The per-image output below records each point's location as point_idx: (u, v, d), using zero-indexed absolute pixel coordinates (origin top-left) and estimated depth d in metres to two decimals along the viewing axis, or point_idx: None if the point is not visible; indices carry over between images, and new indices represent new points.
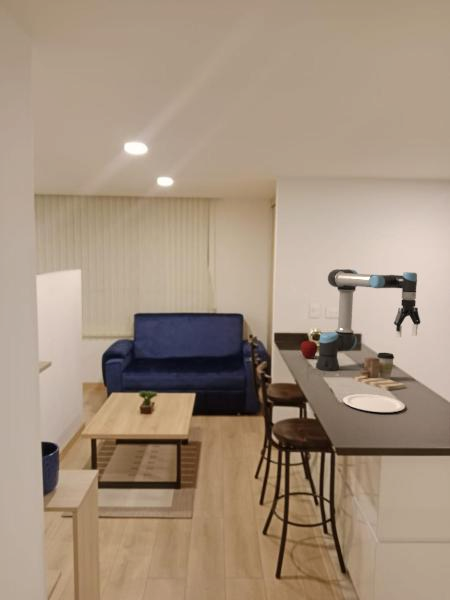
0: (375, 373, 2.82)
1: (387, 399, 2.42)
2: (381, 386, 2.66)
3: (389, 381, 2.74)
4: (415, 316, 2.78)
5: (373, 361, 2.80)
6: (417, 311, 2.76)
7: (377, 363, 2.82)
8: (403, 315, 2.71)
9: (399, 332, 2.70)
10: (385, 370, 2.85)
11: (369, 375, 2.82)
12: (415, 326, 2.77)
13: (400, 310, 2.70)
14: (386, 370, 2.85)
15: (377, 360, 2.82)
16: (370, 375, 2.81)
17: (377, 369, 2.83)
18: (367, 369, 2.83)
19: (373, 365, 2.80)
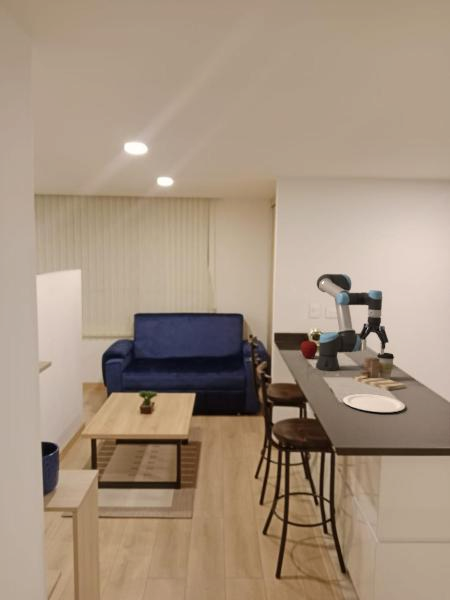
0: (375, 373, 2.82)
1: (387, 399, 2.42)
2: (381, 386, 2.66)
3: (389, 381, 2.74)
4: None
5: (373, 361, 2.80)
6: (381, 330, 2.76)
7: (377, 363, 2.82)
8: None
9: None
10: (385, 370, 2.85)
11: (369, 375, 2.82)
12: None
13: None
14: (386, 370, 2.85)
15: (377, 360, 2.82)
16: (370, 375, 2.81)
17: (377, 369, 2.83)
18: (367, 369, 2.83)
19: (373, 365, 2.80)
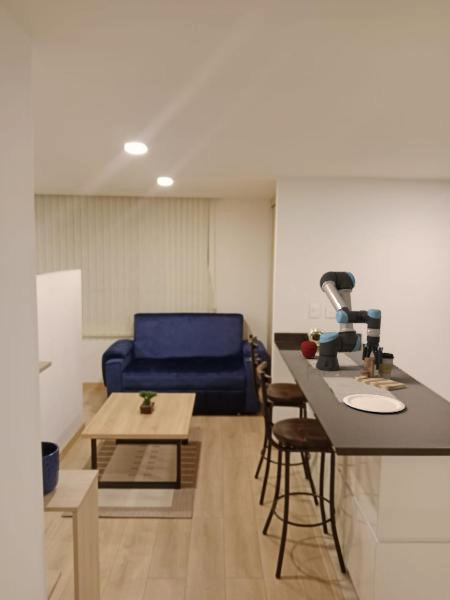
0: None
1: (387, 399, 2.42)
2: (381, 386, 2.66)
3: (389, 381, 2.74)
4: None
5: (373, 361, 2.80)
6: (379, 351, 2.78)
7: None
8: None
9: None
10: (385, 370, 2.85)
11: (369, 375, 2.82)
12: None
13: None
14: (386, 370, 2.85)
15: None
16: (370, 375, 2.81)
17: None
18: (367, 369, 2.83)
19: (373, 365, 2.80)
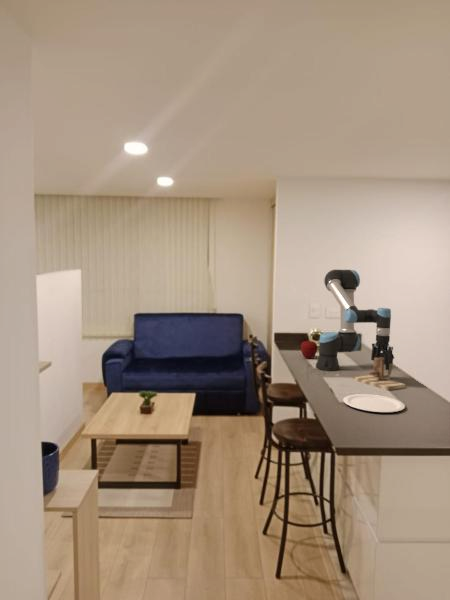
0: None
1: (387, 399, 2.42)
2: (381, 386, 2.66)
3: (389, 381, 2.74)
4: None
5: (383, 361, 2.74)
6: (389, 351, 2.71)
7: None
8: None
9: None
10: None
11: (379, 375, 2.76)
12: None
13: None
14: None
15: None
16: (379, 375, 2.75)
17: None
18: (376, 369, 2.77)
19: (382, 365, 2.74)
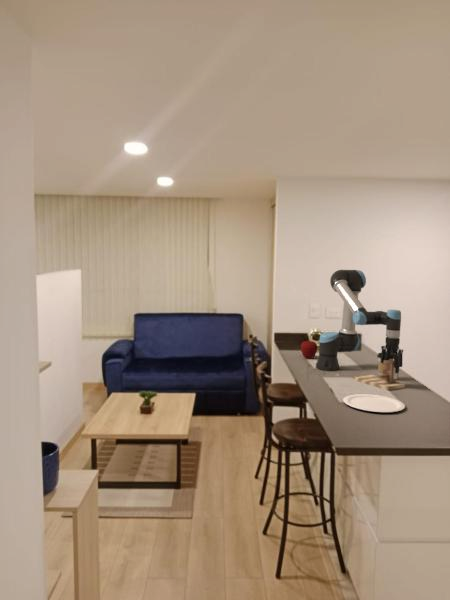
0: None
1: (387, 399, 2.42)
2: (381, 386, 2.66)
3: (389, 381, 2.74)
4: None
5: (392, 364, 2.68)
6: (399, 354, 2.66)
7: None
8: None
9: None
10: None
11: (388, 378, 2.70)
12: None
13: None
14: None
15: None
16: (389, 378, 2.69)
17: None
18: (386, 372, 2.71)
19: (392, 369, 2.68)
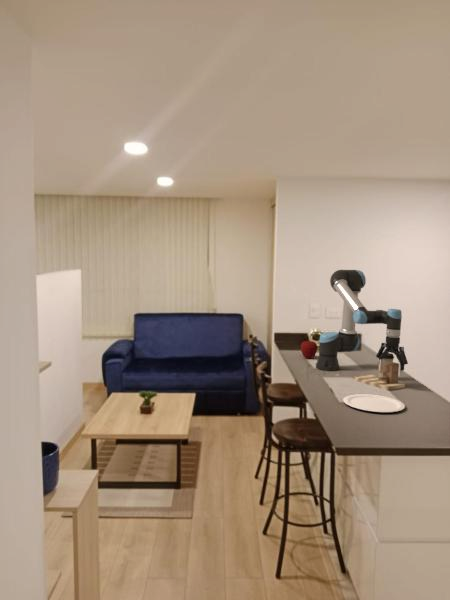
0: (394, 378, 2.70)
1: (387, 399, 2.42)
2: (381, 386, 2.66)
3: None
4: None
5: (392, 366, 2.68)
6: (400, 351, 2.65)
7: (396, 368, 2.70)
8: None
9: None
10: None
11: (388, 380, 2.70)
12: None
13: None
14: None
15: (396, 365, 2.70)
16: (389, 380, 2.70)
17: (396, 374, 2.71)
18: (386, 374, 2.71)
19: (392, 371, 2.69)
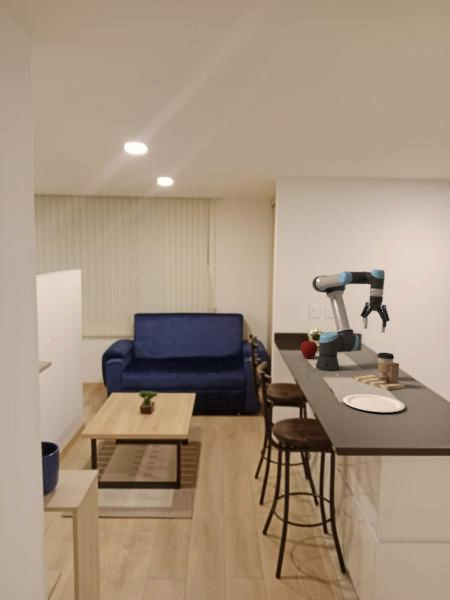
0: (394, 378, 2.70)
1: (387, 399, 2.42)
2: (381, 386, 2.66)
3: None
4: None
5: (392, 366, 2.68)
6: (383, 308, 2.80)
7: (396, 368, 2.70)
8: None
9: None
10: None
11: (388, 380, 2.70)
12: None
13: None
14: None
15: (396, 365, 2.70)
16: (389, 380, 2.70)
17: (396, 374, 2.71)
18: (386, 374, 2.71)
19: (392, 371, 2.69)
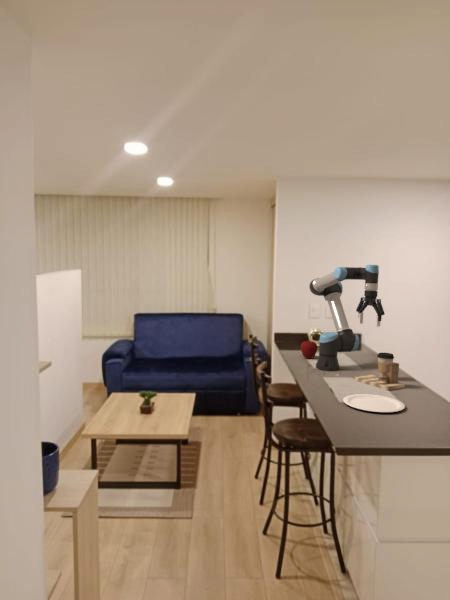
0: (394, 378, 2.70)
1: (387, 399, 2.42)
2: (381, 386, 2.66)
3: None
4: None
5: (392, 366, 2.68)
6: (378, 302, 2.84)
7: (396, 368, 2.70)
8: (364, 304, 2.94)
9: None
10: None
11: (388, 380, 2.70)
12: None
13: None
14: None
15: (396, 365, 2.70)
16: (389, 380, 2.70)
17: (396, 374, 2.71)
18: (386, 374, 2.71)
19: (392, 371, 2.69)
